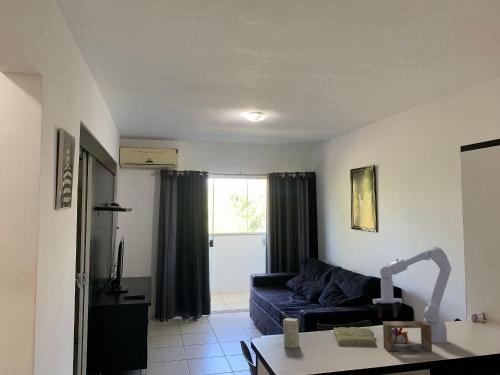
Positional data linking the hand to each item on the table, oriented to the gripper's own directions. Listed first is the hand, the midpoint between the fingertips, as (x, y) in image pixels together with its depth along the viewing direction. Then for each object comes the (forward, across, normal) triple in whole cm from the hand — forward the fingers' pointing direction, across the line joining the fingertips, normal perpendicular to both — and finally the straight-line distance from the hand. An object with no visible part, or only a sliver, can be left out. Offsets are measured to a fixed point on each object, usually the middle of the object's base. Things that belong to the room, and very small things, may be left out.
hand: (388, 317), depth 190 cm
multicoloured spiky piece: (+9, 0, +9) cm, 13 cm away
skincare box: (+9, +51, +10) cm, 53 cm away
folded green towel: (+9, +18, +3) cm, 21 cm away
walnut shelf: (+8, +1, +20) cm, 22 cm away
